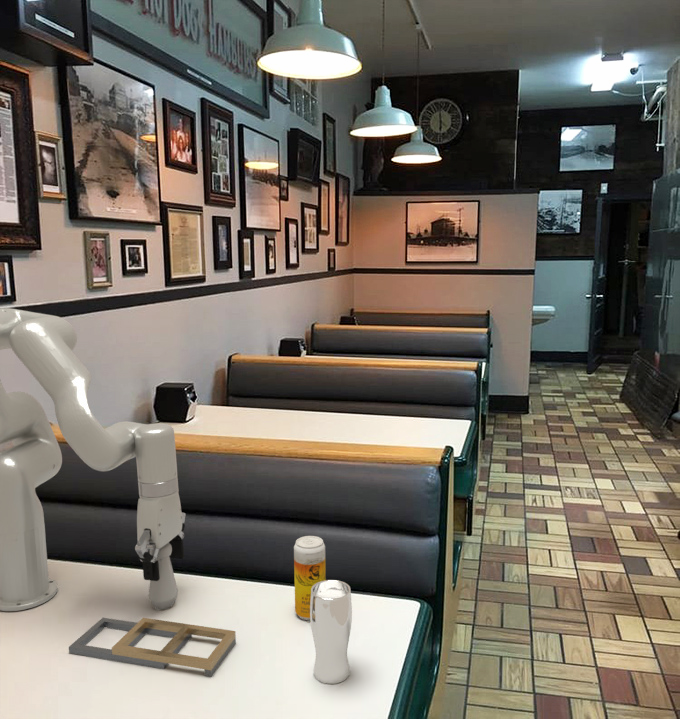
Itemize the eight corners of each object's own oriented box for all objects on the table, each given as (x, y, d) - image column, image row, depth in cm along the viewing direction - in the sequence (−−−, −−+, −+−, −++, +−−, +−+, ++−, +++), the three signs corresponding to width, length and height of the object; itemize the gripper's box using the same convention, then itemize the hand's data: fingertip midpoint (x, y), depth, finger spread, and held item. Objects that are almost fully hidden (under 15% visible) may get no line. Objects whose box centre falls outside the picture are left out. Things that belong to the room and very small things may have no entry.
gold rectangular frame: (112, 660, 112) (111, 647, 112) (143, 629, 122) (143, 617, 121) (211, 677, 107) (210, 663, 107) (235, 643, 117) (235, 631, 117)
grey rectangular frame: (69, 653, 114) (68, 646, 114) (103, 623, 124) (102, 617, 124) (164, 669, 110) (163, 662, 109) (191, 636, 119) (191, 630, 119)
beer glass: (338, 691, 104) (337, 604, 101) (302, 677, 107) (301, 592, 105) (359, 668, 109) (359, 585, 107) (325, 655, 113) (324, 575, 111)
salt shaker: (182, 598, 133) (179, 538, 131) (172, 612, 127) (169, 550, 126) (155, 596, 134) (152, 537, 132) (144, 611, 128) (140, 549, 126)
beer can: (302, 625, 123) (301, 550, 121) (290, 610, 128) (288, 538, 126) (331, 616, 126) (330, 544, 123) (317, 602, 131) (316, 532, 129)
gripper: (164, 472, 136) (169, 548, 139) (116, 501, 120) (123, 587, 122) (196, 473, 134) (201, 551, 137) (152, 503, 118) (159, 591, 120)
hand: (164, 568), depth 129 cm, fingers open, 9 cm apart
